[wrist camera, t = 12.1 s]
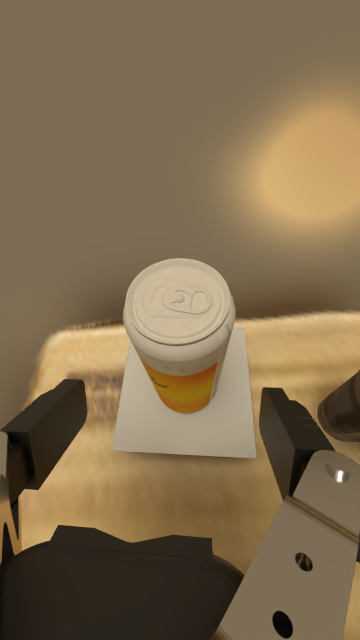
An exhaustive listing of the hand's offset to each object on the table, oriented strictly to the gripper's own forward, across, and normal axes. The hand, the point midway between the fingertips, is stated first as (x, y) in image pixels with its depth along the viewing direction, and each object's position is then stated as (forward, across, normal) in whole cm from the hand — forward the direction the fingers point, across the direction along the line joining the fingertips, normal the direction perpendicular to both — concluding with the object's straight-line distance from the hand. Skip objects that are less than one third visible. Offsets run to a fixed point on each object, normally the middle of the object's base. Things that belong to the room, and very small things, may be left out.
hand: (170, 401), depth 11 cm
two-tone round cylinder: (+13, 0, +6) cm, 15 cm away
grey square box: (+17, 0, +10) cm, 19 cm away
